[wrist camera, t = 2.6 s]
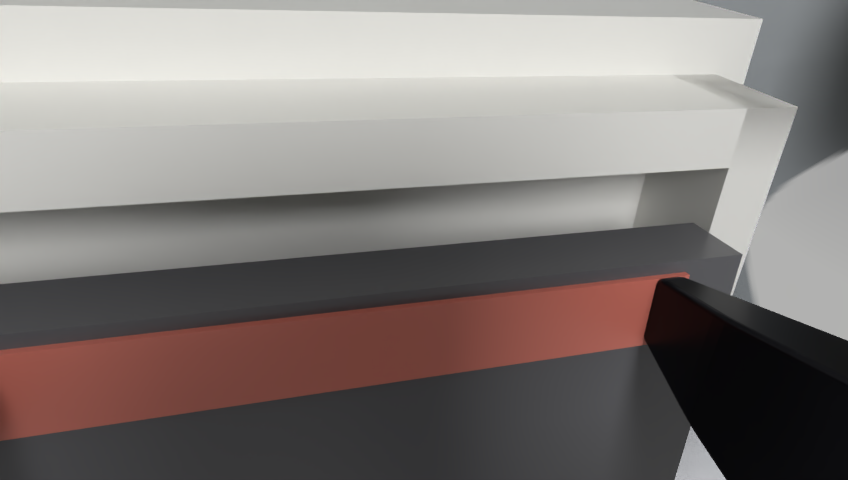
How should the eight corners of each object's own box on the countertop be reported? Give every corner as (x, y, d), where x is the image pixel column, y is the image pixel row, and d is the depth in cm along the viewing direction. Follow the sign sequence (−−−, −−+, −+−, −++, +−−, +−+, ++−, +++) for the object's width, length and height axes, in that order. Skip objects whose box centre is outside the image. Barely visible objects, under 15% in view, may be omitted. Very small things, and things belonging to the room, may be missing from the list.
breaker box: (531, 570, 24) (602, 718, 20) (40, 693, 19) (-2, 920, 15) (664, -8, 14) (855, 43, 10) (-242, -36, 10) (-561, 36, 6)
